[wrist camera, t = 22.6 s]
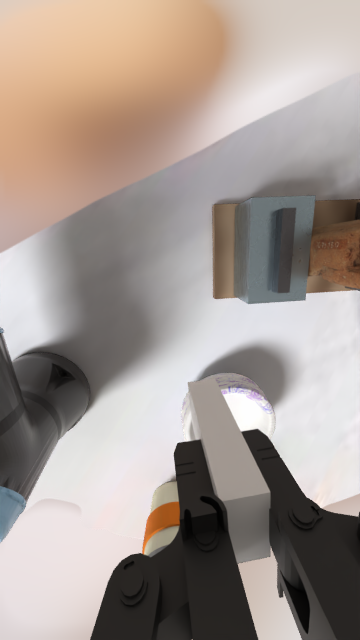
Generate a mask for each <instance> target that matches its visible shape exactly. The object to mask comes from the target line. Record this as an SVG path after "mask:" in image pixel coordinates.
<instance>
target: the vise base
mask: <svg viewBox="0 0 360 640" xmlns="http://www.w3.org/2000/svg"><path fill="white" fill-rule="evenodd" d="M238 205H239V204H215V205H213V206H212V216H213V298H215V299H223V298H237V297H236V296H234V238H235V207H236V206H238ZM354 220H360V199H352V200H325V201H315V206H314V216H313V227H312V229H314V228H316V227H320V226H325V225H331V224H336V223H342V222H348V221H354ZM350 290H358V291H360V289H357V288H351V287H346V286H342V285H339V284H335V283H331V282H329V281H327V280H324V279H323V278H322V277H321V276H308V278H307V288H306V293H318V292H334V291H350Z"/></svg>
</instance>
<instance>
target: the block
mask: <svg viewBox="0 0 360 640" xmlns="http://www.w3.org/2000/svg"><path fill="white" fill-rule="evenodd" d="M308 276H321V277H322V278H323V279H324V280H327V281H329V282H331V283H335V284H339V285H342V286H346V287H351V288H357V289H360V220H354V221H348V222H342V223H336V224H331V225H325V226H320V227H316V228H314V229H312V237H311V247H310V257H309V267H308Z"/></svg>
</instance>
